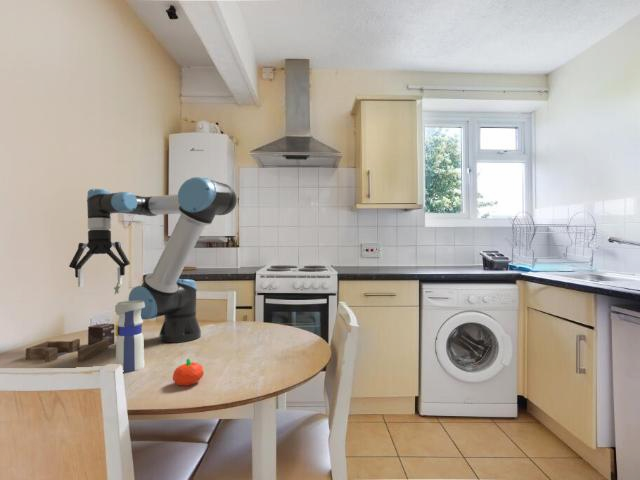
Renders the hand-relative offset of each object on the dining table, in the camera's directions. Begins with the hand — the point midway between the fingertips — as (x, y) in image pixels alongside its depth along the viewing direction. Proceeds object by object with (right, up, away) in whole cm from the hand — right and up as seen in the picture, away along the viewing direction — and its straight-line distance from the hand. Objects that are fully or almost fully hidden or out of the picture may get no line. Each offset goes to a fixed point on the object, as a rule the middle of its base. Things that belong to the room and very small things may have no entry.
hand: (100, 285), depth 136 cm
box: (+4, -21, -6) cm, 23 cm away
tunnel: (0, -21, -18) cm, 28 cm away
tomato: (+50, -20, -44) cm, 69 cm away
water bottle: (+28, -21, -32) cm, 47 cm away
